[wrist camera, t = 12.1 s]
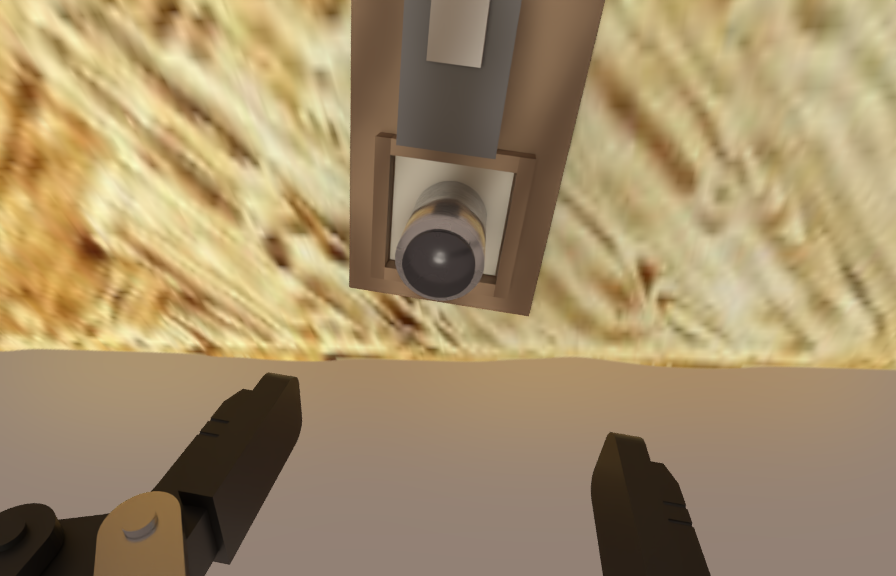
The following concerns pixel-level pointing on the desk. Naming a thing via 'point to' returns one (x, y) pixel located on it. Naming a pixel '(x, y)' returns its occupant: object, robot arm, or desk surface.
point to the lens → (443, 242)
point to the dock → (516, 149)
